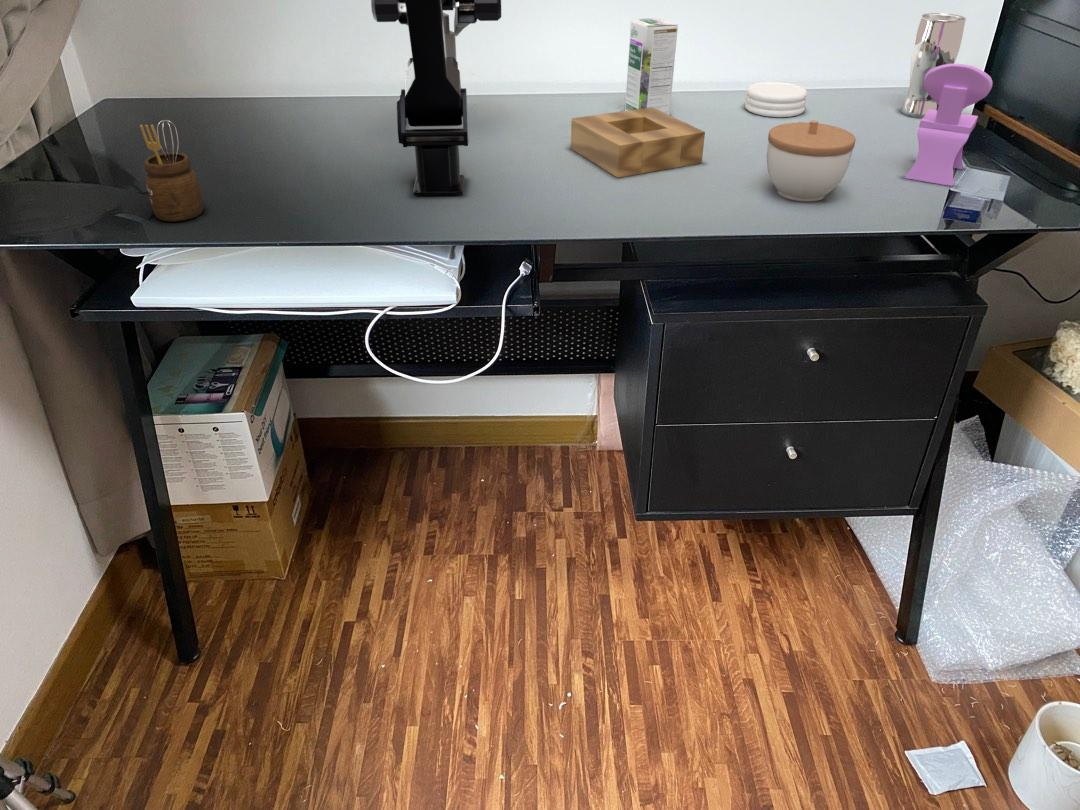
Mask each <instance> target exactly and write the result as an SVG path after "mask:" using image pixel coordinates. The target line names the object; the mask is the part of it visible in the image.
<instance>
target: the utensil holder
mask: <svg viewBox="0 0 1080 810" xmlns="http://www.w3.org/2000/svg"><path fill="white" fill-rule="evenodd" d="M165 122H167V124H168V126H169V132H170V136H171V143H172V145H171V146H172V152H169V151H168V147H167V142H166V137H165V131H164V123H165ZM169 122H170V123H171V124H172V125H173V126H174V128H175V133H176V138H177V139H176V140H179V135H178V131H177V127H176V126H175V124H174V123H173V122H172V121H171V120H169V119H164V120H163V119H162V120H160V121H159V122H158V123H157V126H156V129H155V126H154V124H150V127H149V125H148V124H145V125H144V126H143V124H140V125H139V128H140V131H141V133H142V137H143V139H144V143H145V145H146V148H147V149H148V150H150V151H152V152H154V154H153V155H150V156H148V157H147V158H145V160H144V162H143V165H144V171H145V172H146V177H145V186H146V189H147V193H148V197H149V201H150V205H151V208H152V211H153V214H154V216H155V218H157V219H158V220H159V221H162V222H169V223H170V222H171V223H172V222H174V223H175V222H184V221H189V220H192V219H195V218H197V217H199V216H201V215H202V213H203V211H204V202H203V198H202V194H201V189H200V184H199V180H198V177H197V174H196V172H195V171H194V170H193V169H192V168H191V167H192V163H191V160H190V158H189V156H188V155H187V154H186V153H182V152H178V151H179V143H180V142H179V141H177V148H176V151H175V146H174V144H175V143H174V139H173V138H174V137H173V133H172V128H171V125H170V123H169ZM160 123H161V129H162V136H163V140H164V142H163V143H164V146H165V149H166V152H165V151H164V150H163V147H162V145H161V141H160V137H159V136H160V135H159V134H158V133H159V125H160ZM144 127H145V129H144ZM150 128H151V130H150ZM146 133H147V134H146ZM147 135H148V136H147ZM148 138H149V139H148ZM154 139H155V140H154ZM160 150H162V152H161V153H159V151H160Z"/></svg>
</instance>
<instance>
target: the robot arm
mask: <svg viewBox="0 0 1080 810" xmlns="http://www.w3.org/2000/svg"><path fill="white" fill-rule="evenodd" d="M370 7H371V14H372V19H373V20H374V21H375V22H376V23H395V22H397V21H398V24H400V25H406V26H407V27H408V34H409V43H410V51H411V57H409V59H408V60H407V63H406V70H405V75H404V77H405V79H404V80H405V82H404V83H405V84H404V88H401V89H400V94H399V98H398V99H397V101H396V123H397V125H396V126H397V138H398V139H397V140H398V144H400V145H402V148H408V147H414V155H415V167H416V177H415V181H414V182H415V183H414V186H413V191H412V193H413V196H417V197H418V196H461V195H463V194H464V188H465V187H464V186H465V175H464V174H461V165H460V147H459V146H461V147H462V146H463V147H469V124H468V123H469V118H468V117H469V116H468V95H467V94H468V93H467V88H465V87H463V88H462V82H461V81H462V80H461V71H460V70H459V63H458V60H457V58H456V59H455V58H454V57H446V46H445V34H444V22H443V13H444V11H454V19H453V32H455V37H458V36H459V35H460V34H461V32H462V31H463V30H464V29H465V28H467V27H468V26H469V25H471V24H476V23H477V22H478V21H479V22H497V21H499V20H500V19H501V18H502V0H370ZM454 9H455V10H454ZM459 126H462V128H419V127H459ZM410 127H413V128H411V129H410ZM415 127H416V128H415ZM417 127H418V128H417Z"/></svg>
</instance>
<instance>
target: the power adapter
mask: <svg viewBox="0 0 1080 810" xmlns="http://www.w3.org/2000/svg"><path fill="white" fill-rule="evenodd" d="M443 22H444V34H445V46H446V57H454V58H455V59H456V60H457V45H456V44H457V43H456V41H457V40H456V36H455V32H454V31H452V30H450V14H448V13H445V12H443Z"/></svg>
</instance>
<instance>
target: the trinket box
mask: <svg viewBox="0 0 1080 810" xmlns="http://www.w3.org/2000/svg"><path fill="white" fill-rule="evenodd" d="M856 141H857V139H856V137H855V135H854V134H853V133H852V132H850V131H848V130H846V129H845V128H844V129H843V128H841V127H838V126H835V125H830V124H825V123H819V120H814V119H813V120H810V121H809V122H787V123H782V124H778V125H775V126H774V127H771V129H770V130H769V131H768V135H767V149H766V169H767V174H768V177H769V179H770V181H771V183H772V184H773V186H774V187H775V188H776V189H777V193H778V194H779V195H780V196H781V197H783V198H785V199H789V200H792V201H798V202H816V201H820V200H823V199H824V198H825V197H826V195H827V194H828V195H829V193H831V192H833V190H834V189H836V188H837V186H839V184H840V183H841V182H842V181H843V179H844V177H845V175H846V173H847V171H848V168H849V165H850V162H851V159H852V154H853V150H854V148H855V145H856Z"/></svg>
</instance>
